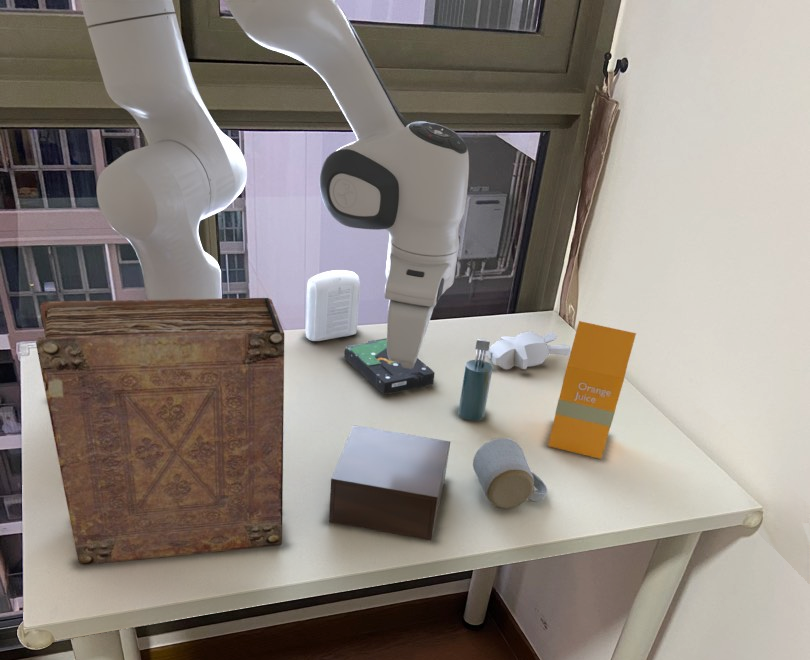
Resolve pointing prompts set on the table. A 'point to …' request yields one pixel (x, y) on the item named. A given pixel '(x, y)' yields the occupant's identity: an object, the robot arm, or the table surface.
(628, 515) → the table surface
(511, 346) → the bunny figurine
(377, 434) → the cabinet
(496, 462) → the ceramic mug
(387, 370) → the disk drive
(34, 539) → the table surface
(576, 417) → the orange juice
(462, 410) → the cutlery cup
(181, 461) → the book
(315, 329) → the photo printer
